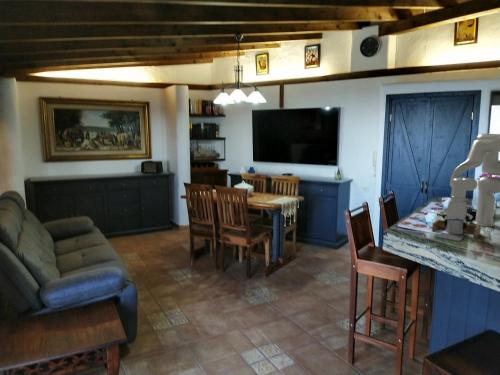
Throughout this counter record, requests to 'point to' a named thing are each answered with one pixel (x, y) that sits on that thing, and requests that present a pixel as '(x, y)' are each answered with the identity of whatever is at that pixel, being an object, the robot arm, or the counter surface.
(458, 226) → the medicine box
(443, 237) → the mat
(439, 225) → the open side wooden frame
